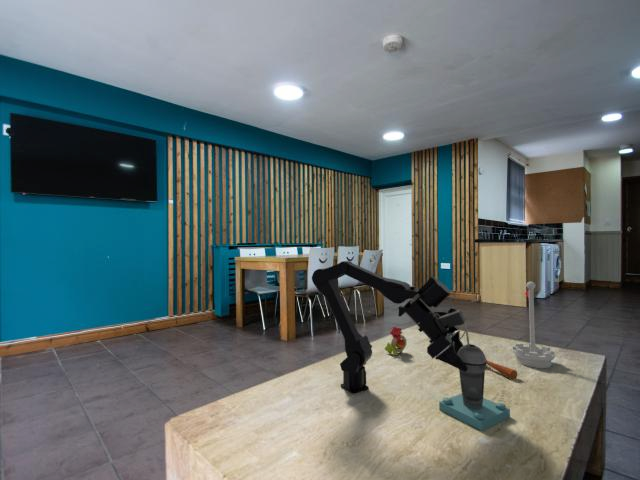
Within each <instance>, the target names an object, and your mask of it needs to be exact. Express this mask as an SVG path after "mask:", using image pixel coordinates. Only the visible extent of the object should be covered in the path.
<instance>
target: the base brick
mask: <svg viewBox="0 0 640 480" xmlns="http://www.w3.org/2000/svg"><path fill="white" fill-rule="evenodd" d="M438 403H439V406H438V407H439V409H438V410H440V411H441V412H444V414H445V413H446V414H448V415H449V416H452V417H453V418H455V419H457V420H459V421H461V422H463V423H465V424H467V425H469V426H471V427H473V428H474V429H477V430H479V431H480V432H482V431H484V430H486V429H488V428H490V427H492V426H495V425H497V424H499V423H501V422H503V421H505V420H507V419H509V418H510V417H511V408H509V407H507V406H506V404H504V403H503V402H494V401H491V400H490V399H487V398H485V397H483V404H482V408H481V409H471V408H468V407H466V406H465V405H464V404H463V398H462V393H459V394H456V395H454V396H451V397H443V399H442V400H441V401H439V402H438Z"/></svg>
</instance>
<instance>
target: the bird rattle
mask: <svg viewBox="0 0 640 480" xmlns="http://www.w3.org/2000/svg"><path fill="white" fill-rule="evenodd" d="M402 333H403V331H402V328H401V327H395V326H392V330H390V331H389V334H390V335H391V336H392V339H391V340H390V341H391V342H387V344H386V346H385V347H384V350H385V351H386V352H387V353H388V354H389V353H390V354H393V356H397V355H398V356H399V353H401V352H402V353H403V351H404V350H405V348H407V347H406V346H407V343H408V342H407V338H406V337H405V336H404V334H402Z"/></svg>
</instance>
